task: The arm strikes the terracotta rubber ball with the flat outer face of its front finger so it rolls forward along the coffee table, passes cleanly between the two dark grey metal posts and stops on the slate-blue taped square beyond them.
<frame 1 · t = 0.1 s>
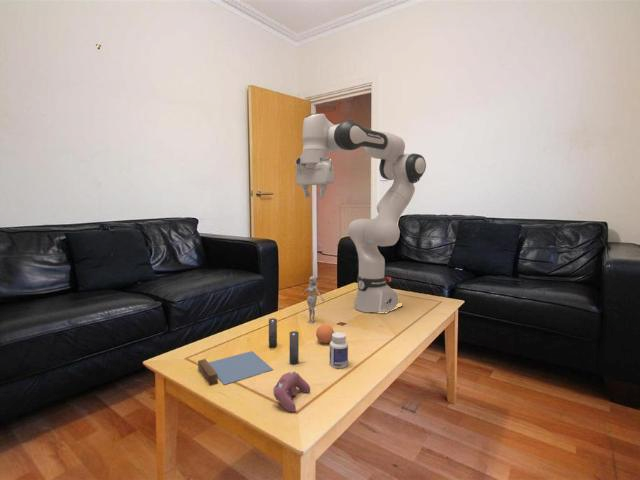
hand: (314, 197, 127), 48 cm above the table, tool pointing down, fingers open, 8 cm apart
stopper: (207, 375, 92), on the table
post 1: (272, 346, 111), on the table
human figurine: (312, 322, 133), on the table
ball: (325, 333, 114), on the table
video game controller: (291, 400, 82), on the table
post 2: (294, 362, 100), on the table
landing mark: (239, 366, 97), on the table
pill bottle: (338, 364, 99), on the table
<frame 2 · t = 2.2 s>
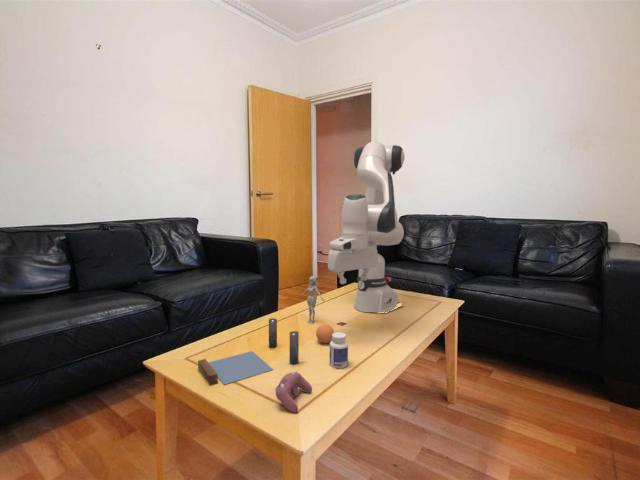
hand: (353, 282, 119), 19 cm above the table, tool pointing down, fingers open, 8 cm apart
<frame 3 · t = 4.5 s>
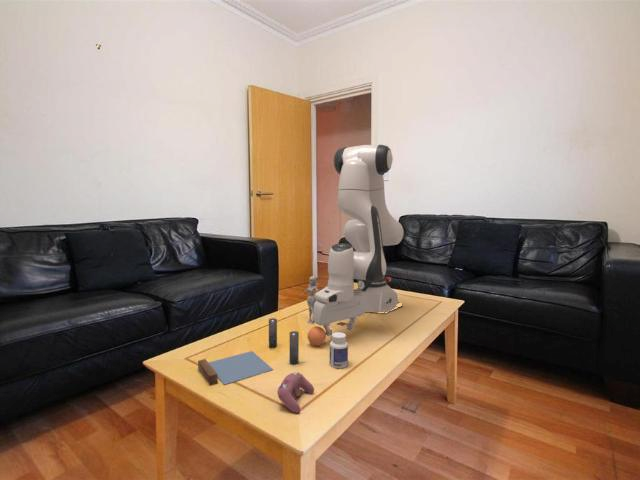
hand: (339, 332, 117), 2 cm above the table, tool pointing down, fingers open, 8 cm apart
ball: (316, 335, 112), on the table
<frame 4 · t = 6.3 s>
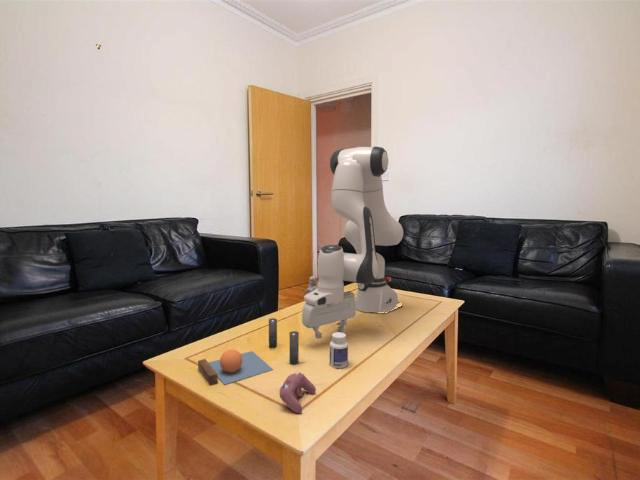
hand: (329, 334, 115), 2 cm above the table, tool pointing down, fingers open, 8 cm apart
ball: (231, 360, 94), on the table
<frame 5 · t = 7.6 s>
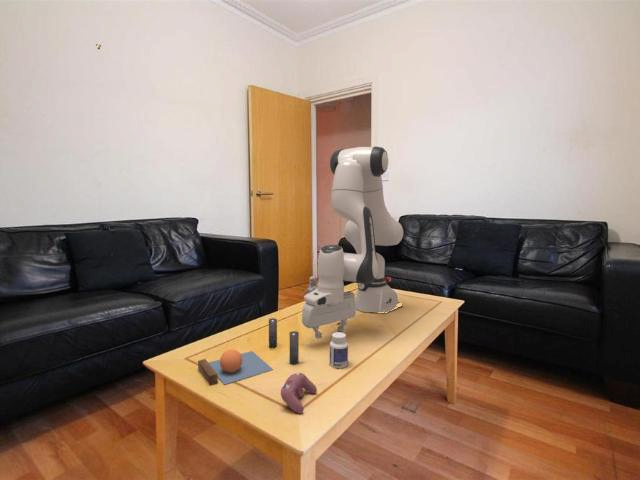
hand: (329, 334, 115), 2 cm above the table, tool pointing down, fingers open, 8 cm apart
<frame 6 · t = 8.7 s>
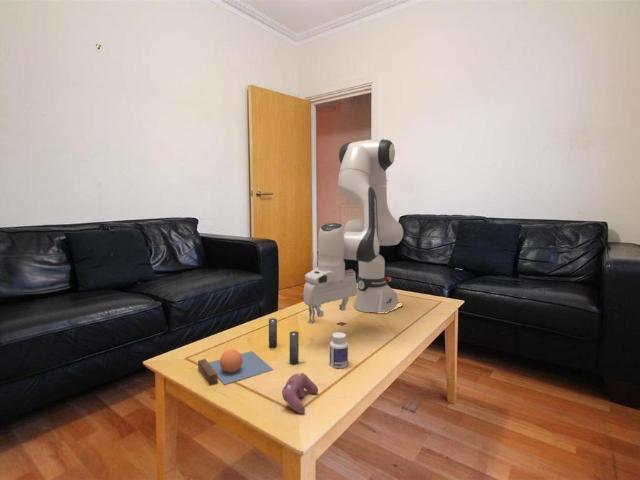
hand: (331, 313, 115), 9 cm above the table, tool pointing down, fingers open, 8 cm apart
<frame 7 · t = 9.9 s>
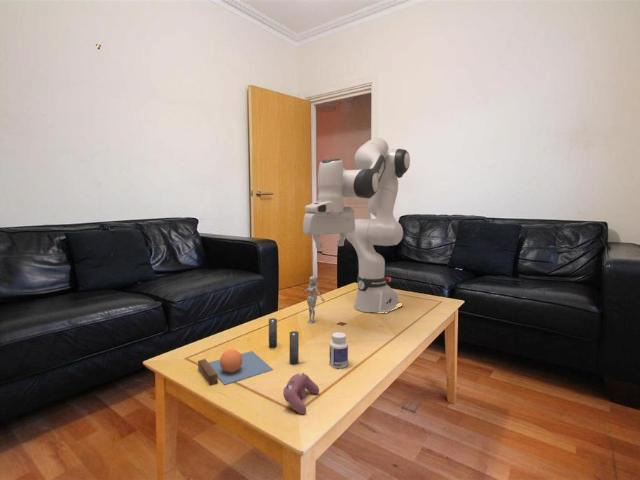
hand: (330, 246, 119), 31 cm above the table, tool pointing down, fingers open, 8 cm apart
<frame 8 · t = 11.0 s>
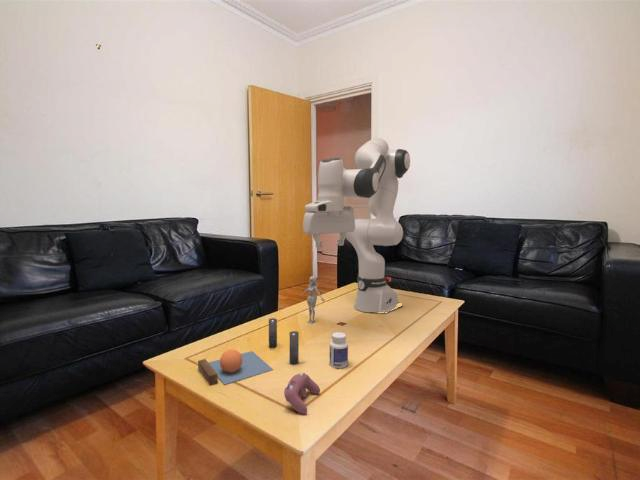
hand: (329, 246, 119), 31 cm above the table, tool pointing down, fingers open, 8 cm apart
at the end: ball 3.1 cm from the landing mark (horizontally); ball never touched post 2; ball never touched post 1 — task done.
